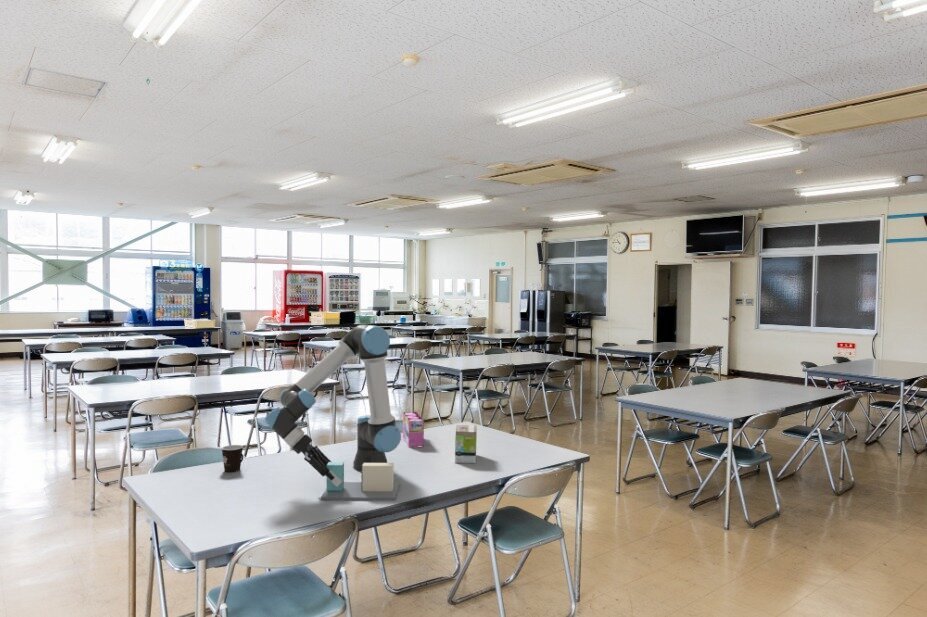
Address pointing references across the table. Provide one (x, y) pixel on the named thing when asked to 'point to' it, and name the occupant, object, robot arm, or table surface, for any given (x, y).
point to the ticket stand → (368, 485)
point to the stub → (339, 472)
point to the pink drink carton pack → (413, 429)
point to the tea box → (465, 444)
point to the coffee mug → (232, 457)
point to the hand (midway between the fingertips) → (340, 482)
